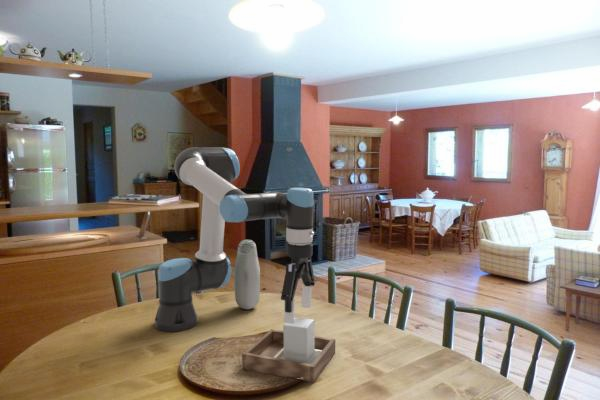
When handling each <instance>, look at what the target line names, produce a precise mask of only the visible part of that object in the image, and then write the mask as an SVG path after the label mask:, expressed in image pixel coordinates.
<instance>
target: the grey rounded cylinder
mask: <svg viewBox="0 0 600 400" xmlns="http://www.w3.org/2000/svg"><path fill="white" fill-rule="evenodd" d="M236 253H237V254H236V258H235V259H236V260H235V265H234V272H233V273H234V274H233V276H234V277H233V279H234V298H235V299H234V300H235V302H236V305H237V306H238V307H239V308H241V309H243V310H251V309H254V308H255V307H256V306H257V305H258V303H259V301H260V297H261V295H260V294H261V268H260V263H259V262H260V261H259V257H258V250H257V245H256V243H255V241H253V240H252V239H243V240H241V241H240V242H239V243H238V245H237V251H236Z"/></svg>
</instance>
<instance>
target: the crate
mask: <svg viewBox="0 0 600 400" xmlns="http://www.w3.org/2000/svg"><path fill="white" fill-rule="evenodd" d="M314 347H315V360H314V362H313V363H312V364H307V363H301V362H296V361H290V360H285V359H284V330H279V329H269V330H268V331H267V332H266V333H265V334H264V335H263V336H261V337H260V338H259V339H258V340H257V341H256V342H254V343H253V344H252V345H251V346H250V347H248V349H246V350H245V351H244V352H242V355H241V362H242V365H241V367H242V368H241V369H242V370H248V371H252V372H257V373H262V374H267V375H273V376H278V377H283V378H287V377H289V379H292V378H301V377H303V378H304V380H303V382H309V383H313V384H314V383H315V382H316V381H317V380H318V378H319V377H320V375H321V374H322V373H323V371H325V368H326V367H327V365H328V364H329V362H331V360H332V359H333V357H334V356H335V354H336V338H329V337H323V336H318V335H314Z"/></svg>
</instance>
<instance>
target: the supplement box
mask: <svg viewBox="0 0 600 400" xmlns="http://www.w3.org/2000/svg"><path fill="white" fill-rule="evenodd" d="M282 328H283V330H282V331H284V359H285V360H290V361H296V362H301V363H307V364H312V363H313V362H314V360H315V347H314V336H315V319H312V318H303V317H295V316H294V324H291V323H285V322H284V324H283V327H282Z"/></svg>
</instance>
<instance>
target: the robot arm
mask: <svg viewBox="0 0 600 400" xmlns="http://www.w3.org/2000/svg"><path fill="white" fill-rule="evenodd" d="M173 165H174V167H173V168H174V173H175V175H176V176H177V178H178V179H179V180H180V181H181V182H182V183H183V184H185V185H188V186H192V187H194V188H195V189H196V190H197V191H199V192H200V193H202V206H201V220H200V221H201V222H200V237H199V238H200V240H199V250H198V251H197V252H195V254H194V260H192V259H191V258H189V257H180V258H172V259H168V260H166V261H164V262H162V263H161V264H160V265H159V266H158V275H157V279H158V302H159V303H158V304H159V305H158V308H157V311H156V315H155V318H154V328H155V329H157V330H159V331H163V332H171V333H172V332H181V331H186V330H190V329H192V328H194V327H195V326H196V325H197V324H198V321H199V320H198V319H199V318H198V314H197V311H196V309H195V305H194V303H193V294H195V293H199V292H200V293H201V292H205V291H209V290H216V289H218V288H219V289H220V288H222V287H225V286H226V285H227V284H229V282H230V280H231V277H232V272H233V269H232V266H231V264H232V263H231V261H230V259H229V257H227V254H226V253H225V252H224V239H225V238H224V237H225V223H242V222H249V221H256V220H267V219H268V220H269V219H283V220H286V234H285V235H286V237H285V238H286V239H285V241H286V242H287V243H286V246H285V247H286V248H285V249H286V250H285V251H286V252H285V255H286V256H287V257H288V258H290V259H291V262H290V263H286V265H285V275H284V279H283V284H282V289H281V290H282V291H281V295H280V299H281V300H282V301H284V309H283V311H284V314H283V315H284V316H283V317H284V318H283V319H284V321H283V322H284V324H285V323H291V324H294V317H295V310H296V309H295V308H296V307H295V306H296V305H295V304H296V303H295V301H296V300H295V299H294V298H295V295H296V292H297V291H296V290H297V286H298V283H299V280H300V279H301V282H302V283H303V285H301V286H302V287H301V291H302V292H301V307H302V308H308V309H311V308H312V287H314V286H315V284H316V283H315V276H314V274H315V273H314V269H313V263H312V256H313V249H314V248H313V247H314V246H313V245H314V244H313V243H312V242H313V241H314V239H313V237H314V235H315V232H314V206H315V201H314V200H315V199H314V191H313V190H312V189H311V188H307V187H289V188H288V189H287V192H286V193H285V192H279V191H276V190H275V191H273V190H272V191H265V192H264V193H245V192H244V191H242V190H241V189H239V188H238V187H236V186H235V185H234V184H233V181H235V180H236V179H237V178H239V177H238V176H240V172H241V171H240V170H241V167H240V160H239V158H238V156H237V154H236V152H235V151H234V150H232V149H231V148H227V147H220V146H219V147H217V146H214V147H205V146H204V147H203V146H201V147H199V146H196V147H195V146H194V147H188V148H186V149H184V150H183V151H181V152H179V154H178V155H177V156H176V158H175V161H174V163H173Z"/></svg>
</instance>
